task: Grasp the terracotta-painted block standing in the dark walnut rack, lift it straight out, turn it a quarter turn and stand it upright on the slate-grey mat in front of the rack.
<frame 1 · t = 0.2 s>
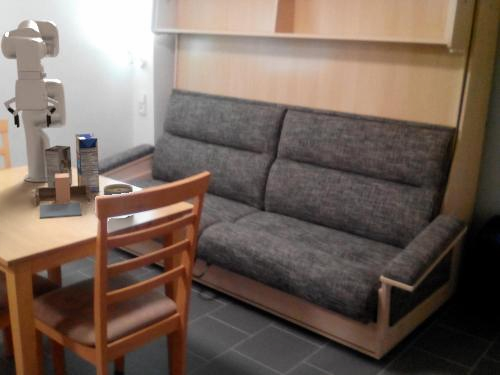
hand: (33, 126, 185), 30 cm above the table, tool pointing down, fingers open, 9 cm apart
mat: (60, 210, 194), on the table
block: (62, 188, 204), in the rack
beverage box: (88, 189, 222), on the table
rack: (63, 200, 206), on the table
coffee box: (60, 185, 225), on the table
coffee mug: (120, 216, 192), on the table
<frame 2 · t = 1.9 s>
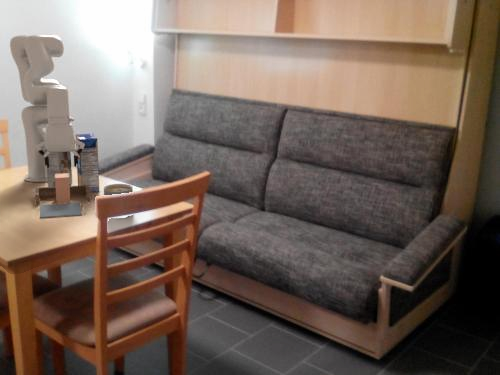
hand: (61, 166, 201), 14 cm above the table, tool pointing down, fingers open, 9 cm apart
nothing on the table moved.
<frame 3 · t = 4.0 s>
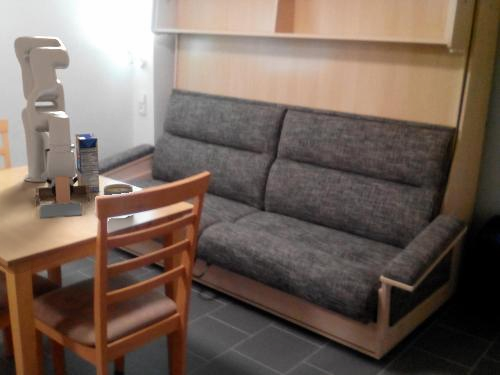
hand: (63, 194, 205), 2 cm above the table, tool pointing down, fingers closed on block, 5 cm apart
block: (62, 188, 204), in the rack, touching gripper
everything else where it was.
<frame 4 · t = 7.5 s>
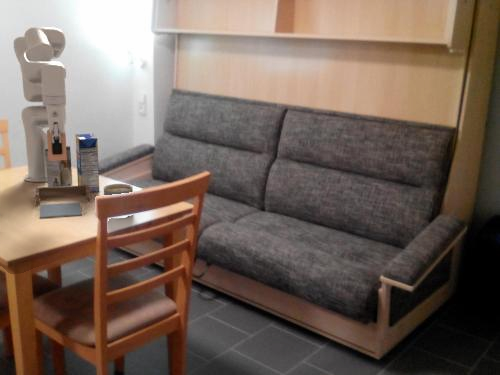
hand: (57, 152, 188), 22 cm above the table, tool pointing down, fingers closed on block, 5 cm apart
block: (56, 144, 188), point 24 cm above the table, touching gripper
everything else where it was.
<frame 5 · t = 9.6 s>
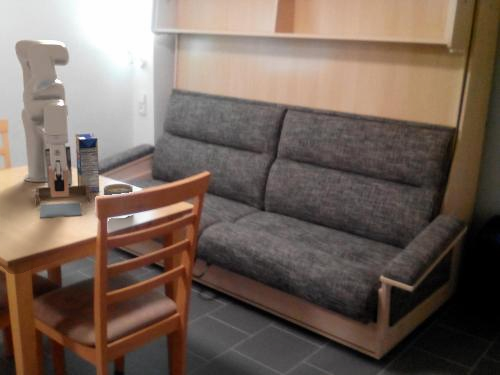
hand: (59, 188, 192), 8 cm above the table, tool pointing down, fingers closed on block, 5 cm apart
block: (59, 181, 191), point 11 cm above the table, touching gripper
everything else where it was.
when the fingers open (4 cm above the table, at t = 11.4 s): block drops 1 cm, resting on mat.
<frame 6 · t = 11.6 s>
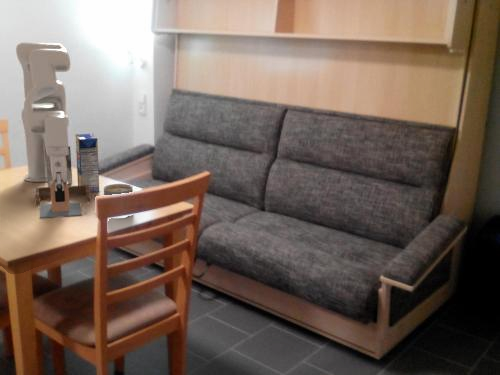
hand: (60, 197, 193), 5 cm above the table, tool pointing down, fingers open, 7 cm apart
block: (60, 196, 193), on the mat
everything else where it was.
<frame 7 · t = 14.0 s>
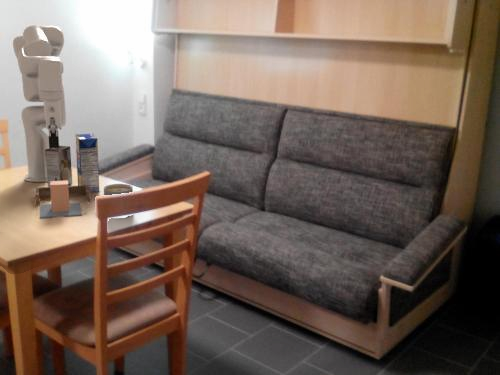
hand: (54, 144, 189), 24 cm above the table, tool pointing down, fingers open, 9 cm apart
nothing on the table moved.
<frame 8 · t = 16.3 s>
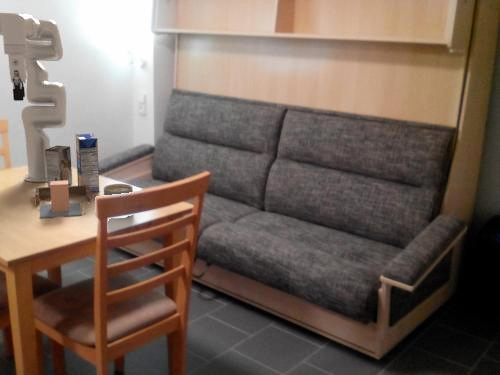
hand: (19, 98, 194), 38 cm above the table, tool pointing down, fingers open, 9 cm apart
nothing on the table moved.
at the end: block inside the target area on the mat (0.1 cm from its centre), point 5.5 cm above the mat's base; block tilted 0°; the gripper is holding nothing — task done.
